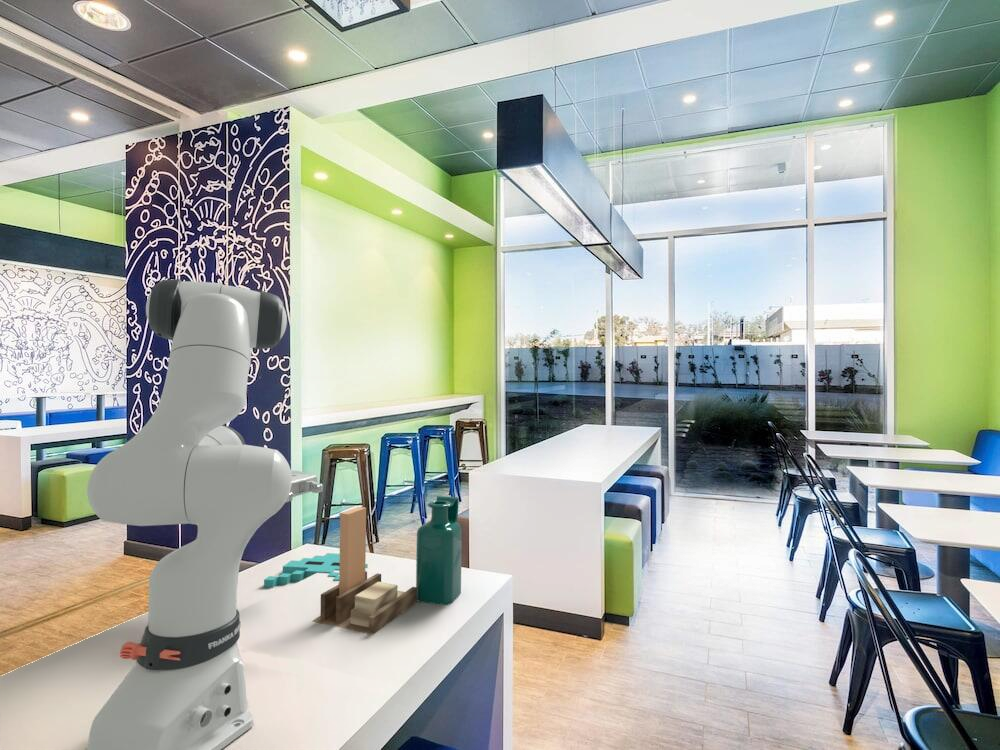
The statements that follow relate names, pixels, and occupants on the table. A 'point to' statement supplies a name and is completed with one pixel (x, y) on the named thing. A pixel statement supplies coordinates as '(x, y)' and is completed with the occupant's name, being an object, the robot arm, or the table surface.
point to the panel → (352, 548)
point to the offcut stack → (372, 601)
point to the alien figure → (307, 569)
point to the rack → (340, 607)
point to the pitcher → (439, 554)
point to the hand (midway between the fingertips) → (305, 492)
